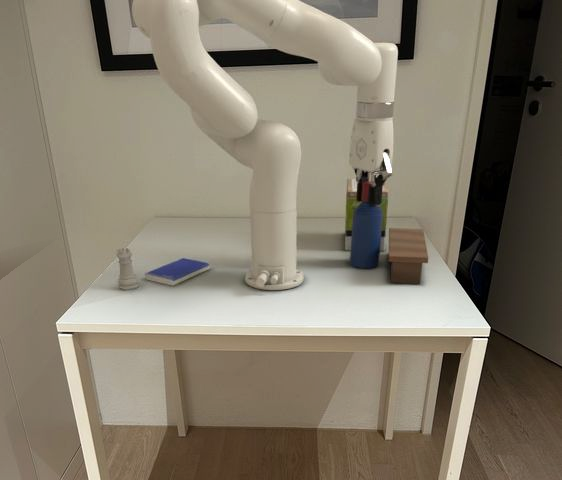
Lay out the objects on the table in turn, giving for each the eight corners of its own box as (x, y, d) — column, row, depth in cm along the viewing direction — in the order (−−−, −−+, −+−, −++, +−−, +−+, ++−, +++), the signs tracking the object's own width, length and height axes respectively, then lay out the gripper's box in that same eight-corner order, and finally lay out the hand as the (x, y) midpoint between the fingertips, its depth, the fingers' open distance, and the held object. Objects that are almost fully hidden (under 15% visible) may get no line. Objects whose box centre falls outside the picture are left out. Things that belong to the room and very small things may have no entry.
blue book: (173, 279, 123) (209, 263, 132) (144, 272, 126) (182, 257, 136) (173, 286, 123) (210, 269, 132) (145, 279, 127) (182, 263, 136)
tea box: (344, 234, 157) (346, 177, 150) (381, 234, 156) (386, 177, 149) (344, 251, 144) (346, 189, 136) (385, 251, 143) (390, 190, 136)
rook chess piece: (144, 285, 124) (139, 249, 120) (128, 292, 121) (122, 254, 117) (129, 281, 126) (124, 245, 122) (113, 288, 123) (107, 251, 119)
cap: (377, 198, 130) (379, 181, 128) (379, 201, 126) (381, 184, 124) (360, 197, 130) (361, 180, 128) (361, 201, 126) (363, 184, 125)
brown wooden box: (425, 286, 122) (428, 257, 119) (386, 284, 123) (388, 256, 120) (420, 254, 141) (423, 229, 138) (387, 253, 142) (389, 227, 139)
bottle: (378, 269, 132) (385, 189, 123) (348, 267, 132) (354, 188, 124) (378, 260, 137) (385, 183, 129) (350, 258, 138) (355, 182, 130)
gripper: (337, 109, 124) (334, 197, 133) (383, 116, 111) (376, 212, 120) (366, 108, 127) (361, 193, 136) (414, 114, 114) (405, 208, 123)
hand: (368, 201), depth 128 cm, fingers closed on cap, 3 cm apart
